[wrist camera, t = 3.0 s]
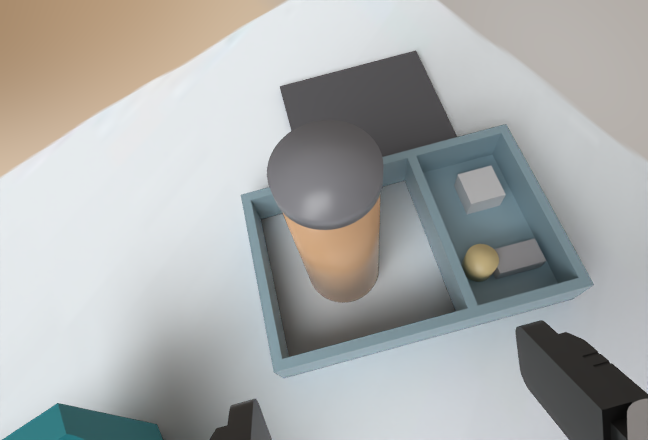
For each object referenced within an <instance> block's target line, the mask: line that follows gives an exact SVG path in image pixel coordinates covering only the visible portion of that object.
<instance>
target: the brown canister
mask: <svg viewBox="0 0 648 440" xmlns="http://www.w3.org/2000/svg"><path fill="white" fill-rule="evenodd" d="M267 178H268V184H269V187H270V190H271V192H272V194H273V197H274V199H275V201H276V203H277V205H278V207H279V208H280V210H281V211H282V213H283V215H284V217H285V220H286V222H287V225H288V227H289V229H290V232H291V234H292V237H293V239H294V241H295V244H296V246H297V249H298V251H299V254H300V256H301V258H302V261H303V263H304V266H305V268H306V270H307V273H308V275H309V278H310V280H311V282H312V284H313V286H314V288H315V289H316V290H317V291H318V293H320V294H321V295H322V296H323V297H325V298H327V299H329V300H332V301H335V302H351V301H355V300H358V299H360V298H362V297H363V296H365V295H366V294H367V293H368V292H369V291H370V290H371V289H372V287H373V286H374V284H375V282H376V280H377V277H378V265H379V227H380V193H381V191H382V186H383V158H382V154H381V151H380V149H379V147H378V145H377V144H376V142H375V141H374V139H373V138H372V137H371V136H370V135H369V134H368V133H366V132H365V131H364V130H362V129H361V128H359V127H357V126H355V125H353V124H350V123H347V122H343V121H336V120H321V121H315V122H311V123H308V124H304V125H302V126H300V127H298V128H296V129H294V130H293V131H291V132H290V133H288V134H287V135H286V136H285V137H284V138H283V139H281V141H280V142H279V143H278V144H277V145H276V147H275V148H274V150H273V152H272V154H271V156H270V159H269V162H268V167H267Z"/></svg>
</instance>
